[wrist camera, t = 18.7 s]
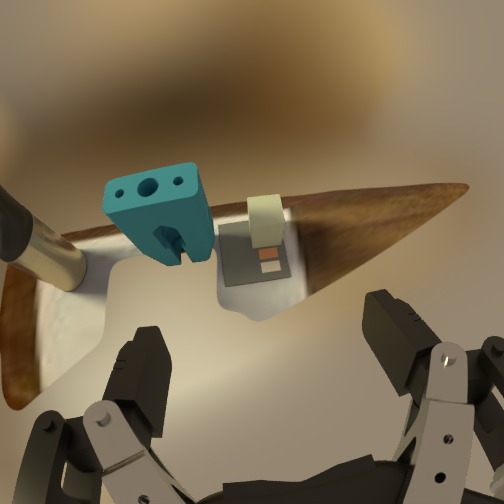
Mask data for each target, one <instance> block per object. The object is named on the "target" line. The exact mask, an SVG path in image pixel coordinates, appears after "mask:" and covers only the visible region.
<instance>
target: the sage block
mask: <svg viewBox="0 0 504 504" xmlns="http://www.w3.org/2000/svg"><path fill="white" fill-rule="evenodd" d="M247 202H248V216H249V227H250V234H251V241H252V248H261V247H268V246H276V245H281V243H282V238H283V232H284V227H285V218H284V213H283V209H282V204H281V199H280V195H279V194H276V195H266V196H258V197H249V198H247Z"/></svg>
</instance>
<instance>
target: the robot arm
mask: <svg viewBox="0 0 504 504" xmlns="http://www.w3.org/2000/svg"><path fill="white" fill-rule="evenodd" d="M0 259H1V260H3V261H5V262H7V263H9V264H10V265H12V266H14V267H16V268H18V269H20V270H22V271H24V272H26V273H28V274H30V275H32V276H34V277H36V278H38V279H40V280H42V281H44V282H46V283H48V284H50V285H52V286H54V287H56V288H58V289H61V290H63V291H71V290H74V289H75V288H77V287H78V286H79V285H80V283H81V282H82V280H83V278H84V276H85V273H86V258H85V256H84V254H83V253H82V252H81V251H80V250H79V249H77V248H76V247H75V246H73V245H72V244H71V243H70V242H68V241H67V240H65V239H64V238H63V237H62V236H60V235H59V234H58V233H56V232H55V231H54V230H52V229H51V228H50V227H48V226H47V225H46V224H45V223H44V222H42V221H41V220H40V219H38V218H37V217H36V216H35V215H34V214H32V213H31V212H30V211H29V210H27V209H26V208H25V207H24V206H22V205H21V204H20V203H19V202H18V201H16V200H15V199H14V198H13V197H12V196H11V195H10V194H9V193H8V192H7V191H6V190H5V189H4V188H3V187H2V186H1V185H0ZM362 330H363V334H364V337H365V339H366V341H367V343H368V344H369V346H370V348H371V349H372V351H373V352H374V354H375V356H376V357H377V359H378V361H379V362H380V364H381V366H382V368H383V369H384V371H385V373H386V374H387V376H388V378H389V379H390V381H391V383H392V385H393V386H394V388H395V390H396V392H397V393H398V395H399V397H400V396H403V395H405V394H407V393H410V394H411V396H412V399H411V401H410V405H409V409H408V414H407V417H406V421H405V425H404V429H403V432H402V436H401V439H400V442H399V445H398V447H397V449H396V451H395V453H394V456H393V458H392V460H391V461H386V460H383V461H374V460H373V457H372V455H371V454H370V455H367V456H364V457H361V458H358V459H354V460H351V461H348V462H345V463H341V464H338V465H336V466H334V467H332V468H330V469H328V470H326V471H324V472H322V473H320V474H318V475H316V476H313V477H311V478H309V479H307V480H304V481H301V482H283V481H267V480H256V481H247V482H234V483H223V491H220V492H217V493H214V494H212V495H209V496H207V497H205V498H203V499H201V500H200V501H199V502H197V501H196V500H195V499H194V498H193V497H192V496H191V495H190V494H189V493H188V492H187V491H186V490H185V489H184V488H183V487H182V486H181V485H180V483H179V482H178V481H177V480H176V479H175V478H174V476H173V475H172V474H171V472H170V471H169V470H168V469H167V467H166V466H165V465H164V463H163V462H162V461H161V459H160V458H159V457H158V455H157V454H156V453H155V451H154V450H153V449H152V447H151V446H150V445H151V438H162V433H163V426H164V418H165V411H166V404H167V397H168V390H169V384H170V378H171V371H172V361H171V356H170V354H169V351H168V349H167V346H166V344H165V341H164V339H163V336H162V334H161V331H160V329H159V328H158V326H149V327H139V328H138V329H137V331H136V333H135V336H134V339H133V341H128V342H127V343H126V344H125V345H124V346H123V347H122V348H121V350H120V351H119V354H118V356H117V359H116V362H115V364H114V367H113V371H112V372H111V375H110V378H109V381H108V383H107V386H106V389H105V392H104V395H103V398H102V401H98V402H95V403H94V404H92V405H91V406H90V407H89V408H88V409H87V410H86V411H85V414H84V416H81V417H76V418H70V419H64V418H63V417H62V416H61V415H60V413H58V412H57V411H53V410H50V411H46V412H44V413H42V414H41V415H39V417H38V418H37V419H36V421H35V423H34V426H33V428H32V431H31V434H30V437H29V440H28V443H27V446H26V450H25V453H24V456H23V460H22V463H21V467H20V470H19V475H18V478H17V483H16V487H15V491H14V496H13V502H12V504H100V495H101V486H102V481H103V483H104V485H105V487H106V488H107V490H108V492H109V494H110V496H111V497H112V499H113V501H114V503H115V504H504V410H503V409H502V407H501V405H500V404H499V402H498V400H497V399H496V397H495V396H494V394H493V393H492V392H491V391H492V389H493V388H494V386H496V387H497V389H498V390H499V392H500V393H501V394H502V396H503V398H504V339H503V338H501V337H498V336H492V337H488V338H487V339H486V340H485V341H484V343H483V345H482V347H481V349H478V350H470V351H464V350H463V348H461V347H460V346H459V345H457V344H454V343H451V342H442V341H441V340H440V339H439V338H438V337H437V336H436V334H435V333H434V332H433V331H432V330H431V329H430V328H429V327H428V325H427V324H426V323H425V322H424V321H423V320H421V317H420V316H419V315H418V314H416V312H415V311H414V310H413V309H412V307H411V306H410V305H409V304H407V303H405V302H404V301H402V300H400V299H394V298H393V297H392V295H391V294H390V293H389V292H388V291H387V290H385V289H382V290H378V291H373V292H369V293H367V294H366V296H365V303H364V312H363V320H362ZM473 430H474V432H475V433H476V435H477V437H478V439H479V441H480V443H481V445H482V447H483V449H484V451H485V453H486V455H487V457H488V459H489V462H490V464H491V466H492V468H493V470H494V472H495V473H494V477H493V481H492V482H491V484H490V491H491V492H492V493H495V494H494V497H492V496H488V495H485V494H482V493H479V492H475V491H472V490H469V489H467V488H464V486H465V481H466V476H467V472H468V466H469V460H470V454H471V446H472V438H473ZM65 462H66V463H67V468H66V473H65V478H64V483H63V489H62V488H61V479H62V474H63V469H64V465H65ZM103 470H104V472H103Z"/></svg>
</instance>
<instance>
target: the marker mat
mask: <svg viewBox="0 0 504 504" xmlns="http://www.w3.org/2000/svg"><path fill="white" fill-rule="evenodd" d="M218 230H219V238H220V247H221V255H222V264H223V272H224V280H225V287H229V286H236V285H242V284H249V283H256V282H262V281H268V280H275V279H281V278H287V277H291V275H290V270H289V266H288V261H287V256H286V251H285V246H284V242H283V238H282V243H281V245H276V246H268V247H261V248H252V241H251V234H250V227H249V221H242V222H235V223H229V224H222V225H218Z"/></svg>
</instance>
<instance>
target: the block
mask: <svg viewBox="0 0 504 504" xmlns="http://www.w3.org/2000/svg"><path fill="white" fill-rule="evenodd" d="M102 210H103V212H104V213H105V214H106V215H107V216H108V217H109V218H110V219H111V221H112V222H113V223H114V224H115V225H116V226H117V227H118V228H119V229H120V230H121V231H122V232H123V233H124V234H125V235H126V236H127V237H128V238H129V239H130V240H131V241H132V242H133V243H134V245H135V246H136V247H137V248H138V249H139V250H140V251H141V252H142V253H144V254H145V255H147V256H149V257H151V258H153V259H155V260H157V261H159V262H161V263H162V264H165V265H166V266H174V265H181V249H182V248H183V249H184V250H185V252H186V253H187V255H188V256H189V258H190V259H191V261H192V262H201V261H206V260H208V259H209V258H210V255H211V251H212V248H213V244H214V241H215V234H214V225H213V219H212V215H211V212H210V209H209V206H208V203H207V199H206V196H205V193H204V189H203V186H202V183H201V179H200V176H199V173H198V169H197V166H196V164H194V163H192V162H189V163H183V164H178V165H173V166H168V167H163V168H159V169H154V170H150V171H145V172H141V173H137V174H133V175H128V176H124V177H120V178H116V179H113V180H111V181H109V182H108V183H107V184H106V187H105V193H104V200H103V208H102Z"/></svg>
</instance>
